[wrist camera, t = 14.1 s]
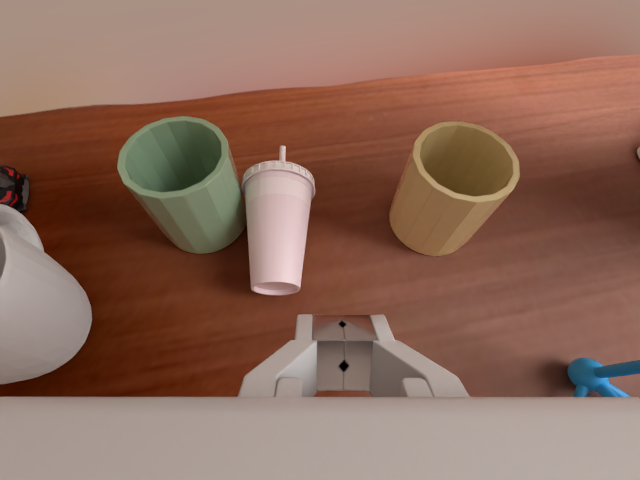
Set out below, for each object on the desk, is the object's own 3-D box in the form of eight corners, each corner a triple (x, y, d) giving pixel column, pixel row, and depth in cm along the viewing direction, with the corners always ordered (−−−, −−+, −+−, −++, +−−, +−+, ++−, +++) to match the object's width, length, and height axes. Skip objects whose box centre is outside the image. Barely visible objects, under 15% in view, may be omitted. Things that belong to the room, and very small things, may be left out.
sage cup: (227, 173, 33) (203, 103, 26) (261, 229, 30) (246, 167, 23) (153, 206, 31) (104, 139, 24) (183, 269, 28) (137, 215, 21)
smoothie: (328, 294, 27) (323, 156, 33) (299, 270, 21) (299, 109, 27) (258, 302, 29) (265, 170, 34) (214, 282, 23) (231, 128, 29)
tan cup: (432, 176, 34) (467, 108, 26) (486, 231, 31) (542, 172, 23) (373, 208, 32) (392, 144, 24) (424, 270, 29) (464, 219, 21)
